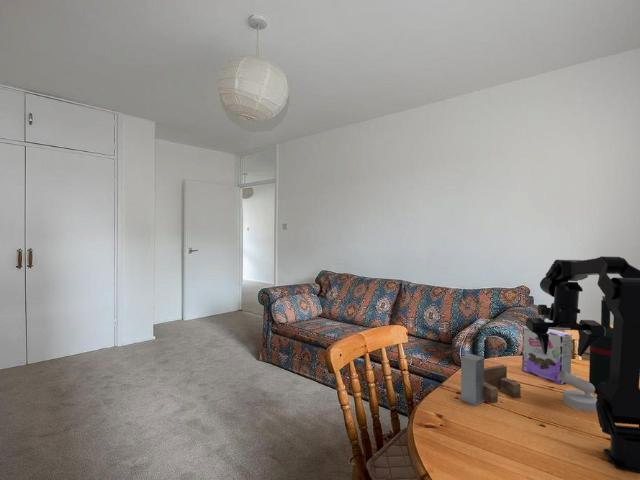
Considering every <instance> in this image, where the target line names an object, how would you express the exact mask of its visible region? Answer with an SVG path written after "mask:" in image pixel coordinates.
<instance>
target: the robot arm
mask: <svg viewBox="0 0 640 480" xmlns="http://www.w3.org/2000/svg"><path fill="white" fill-rule="evenodd" d="M596 275H597V276H598V281H597V283H596V284H597V286H598V287H599V289H600V290H601V292H602V293H603V296H605V303H606V305H607V307H608V308H609V310H610V314H612V316H613V323H612V328H613V334H612V349H611V363H610V377H609V380H608V381H607V382H606V383H605V382H599V384H598V385H597V389H598V393H597V394H596V399H597V401H596V409H597V412H596V413H597V420H598V424H599V427H600V429H601V432H603V434H607V435H609V436H610V445H609V447H610V449H607V448H603V450H602V451H603V452H604V454H605V455H606V456H607V458H608V459H609V460H610V462H611V463H612V464H613V466H614V467H615V468H617V469H620V470H625V471H631V472H637V473H640V269H638V268H637V267H635V266H633V265H632V264H630V263H629V262H628V261H627V260H626V259H625V258H624V257H620V256H603V255H602V256H599V257H596V258H591V259H590V258H589V259H583V260H582V259H555V260H554V261H553V263H552V264H551V266H550V267H549V269H548V271H547V272H546V273H545V277H543V278H542V279H541V280H540V282H539V288H540V289H541V291H543V292H544V293H545V294H547V295H549V296H551V297H552V298H554V299H553V302H551V304H550V307H548V306H547V304H537V315H539V316H543V317H544V318H543V319H542V318H541V317H528V318H526V320H525V323H524V324H525V325H524V326H526V327H527V328H528V329H529V330H530V331H532V332H533V333H535V334H536V335H537V336H538V339H539V341H540V344H541V347H542V350H543V353H544V354H547V350H548V340H549V335H548V334H547V332H548V329H552V330H559V331H561V330H562V331H563V330H564V331H577V332H578V342H577V343H578V344H577V356H578V357H582V356H583V354H584V353H585V352H586V351H587V350H588V348H590V345H591V344H592V343H593V342H594V341H595V340H596V339H600V337H599V336H605V334H606V329H605V327H604V326H603V325H601V323H600V322H598V321H596V320H594V319H580V320H579V322H578V314H581V309H580V308H579V299H580V298H579V297H580V292H581V293H582V292H583V291H584V290H583V289H584V288H583V287H582V286H580V284H579V283H578V281H582V280H586V279H587V278H589V276H596ZM609 275H619V276H620V277H612V278H610V277H609ZM544 319H547V320H548V321H546V320H544ZM621 424H622V425H621ZM623 424H625V425H623ZM633 425H637V426H633Z"/></svg>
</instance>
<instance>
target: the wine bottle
mask: <svg viewBox="0 0 640 480" xmlns="http://www.w3.org/2000/svg"><path fill="white" fill-rule="evenodd" d="M600 301H601V305H600V313H601V314H600V317H601V318H600V324H601V325H603V326H604V327H605V329H606V334H605V336H599V337H600V339H596V340H595V341H594V342H593V343H592V344H591V345H590V346H589V366H588V367H589V368H588V370H589V372H588V373H589V375H588V382H589V383H591V384H592V385H593V386H594V387H595V392H594V393H593V394H596V395H597V393H598V389H597V385H598V384H599V382H605V383H606V382H607V381H608V380H609V377H610V363H611V349H612V334H613V326H612V327H611V311H610V310H609V308H608V307H607V305H606V303H605V295H602V299H601V300H600Z"/></svg>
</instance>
